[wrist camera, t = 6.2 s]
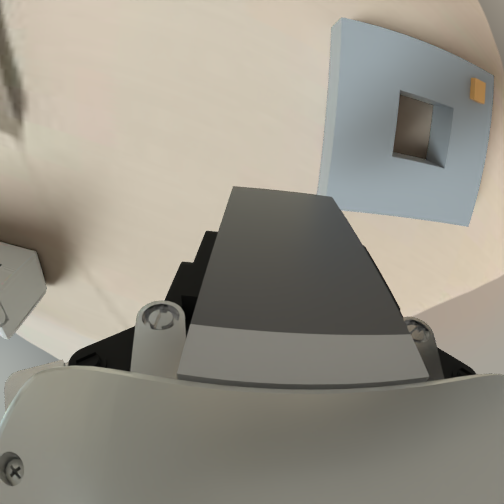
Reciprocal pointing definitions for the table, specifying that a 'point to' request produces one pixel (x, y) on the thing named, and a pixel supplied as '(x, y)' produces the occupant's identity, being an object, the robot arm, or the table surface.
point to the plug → (295, 303)
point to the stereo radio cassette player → (18, 286)
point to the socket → (385, 119)
